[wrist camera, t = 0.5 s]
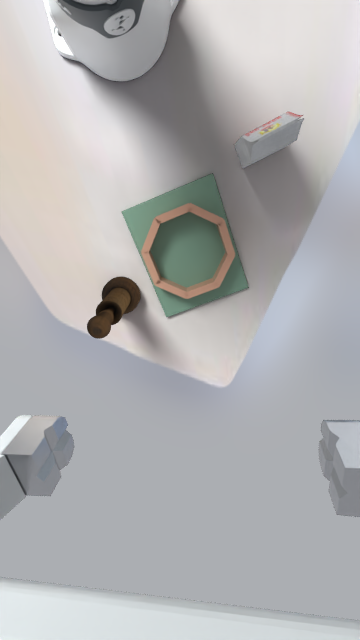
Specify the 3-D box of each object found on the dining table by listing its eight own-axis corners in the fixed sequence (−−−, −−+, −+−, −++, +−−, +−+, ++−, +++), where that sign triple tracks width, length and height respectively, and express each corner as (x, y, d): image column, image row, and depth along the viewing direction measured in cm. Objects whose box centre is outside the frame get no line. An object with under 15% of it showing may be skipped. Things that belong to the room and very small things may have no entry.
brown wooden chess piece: (143, 280, 54) (125, 313, 37) (137, 313, 56) (118, 358, 39) (107, 273, 54) (72, 302, 37) (102, 306, 56) (68, 348, 39)
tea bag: (282, 148, 47) (308, 132, 37) (242, 168, 48) (257, 158, 38) (275, 123, 45) (299, 101, 36) (234, 145, 46) (247, 128, 37)
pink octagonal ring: (132, 226, 50) (130, 227, 47) (213, 193, 48) (215, 191, 45) (164, 302, 55) (164, 307, 52) (239, 274, 53) (243, 278, 50)
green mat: (122, 211, 50) (121, 211, 49) (212, 173, 48) (212, 173, 47) (166, 316, 56) (166, 317, 56) (247, 286, 54) (248, 287, 54)
